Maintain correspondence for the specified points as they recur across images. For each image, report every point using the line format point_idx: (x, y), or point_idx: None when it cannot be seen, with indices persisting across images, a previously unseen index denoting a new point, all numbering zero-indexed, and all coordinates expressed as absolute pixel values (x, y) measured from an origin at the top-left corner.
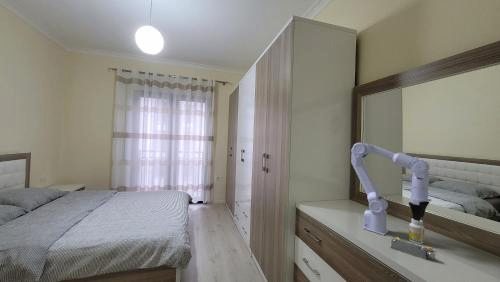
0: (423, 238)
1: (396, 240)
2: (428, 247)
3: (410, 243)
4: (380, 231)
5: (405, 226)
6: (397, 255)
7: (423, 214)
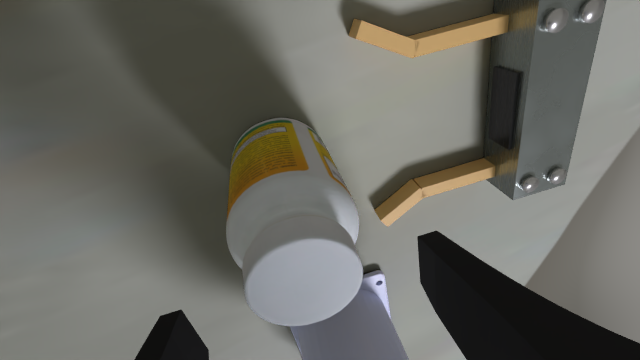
0: (281, 131)
1: (540, 174)
2: (382, 44)
3: (526, 111)
4: (375, 297)
5: (42, 332)
6: (605, 97)
7: (165, 352)
